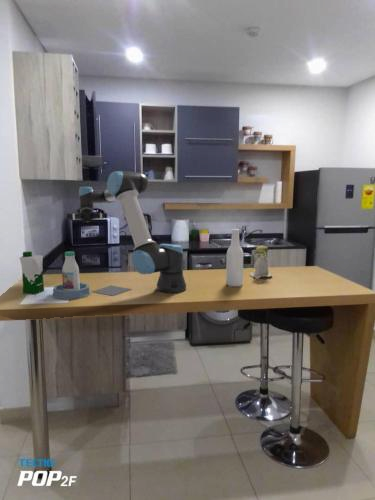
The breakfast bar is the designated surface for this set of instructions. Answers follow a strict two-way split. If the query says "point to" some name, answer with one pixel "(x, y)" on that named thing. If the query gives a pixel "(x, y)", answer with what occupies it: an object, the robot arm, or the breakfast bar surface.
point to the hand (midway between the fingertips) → (87, 216)
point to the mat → (111, 290)
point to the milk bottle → (70, 272)
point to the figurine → (261, 263)
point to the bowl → (71, 292)
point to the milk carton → (32, 273)
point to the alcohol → (234, 261)
